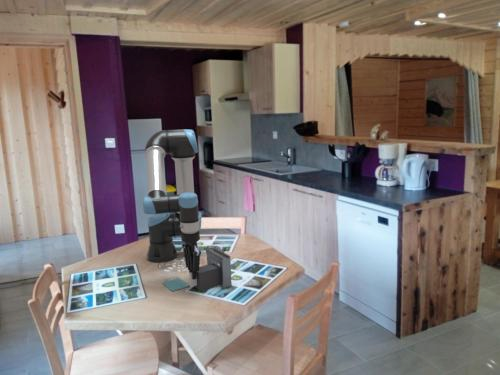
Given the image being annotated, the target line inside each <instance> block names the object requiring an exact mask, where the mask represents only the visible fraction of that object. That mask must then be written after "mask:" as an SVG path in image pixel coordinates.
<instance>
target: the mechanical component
mask: <svg viewBox="0 0 500 375" xmlns="http://www.w3.org/2000/svg"><path fill="white" fill-rule="evenodd" d="M213 248H216V249H218V250H219V251H221V252H223V253H225V252H226V251H227V248H226V247H225V246H222V247H221V249H220V248H219V246H218V245H206V246H204V247H203V249H204V250H203V251H205V254H206V255H207V251H206V250H209V251H211V250H213Z"/></svg>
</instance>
